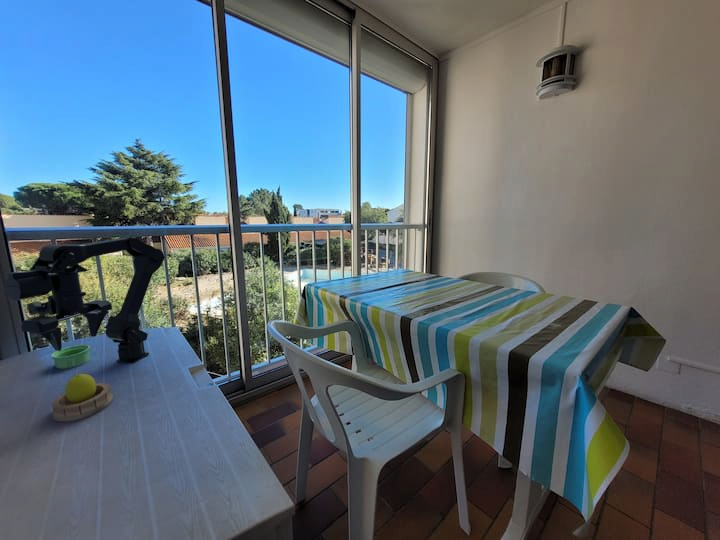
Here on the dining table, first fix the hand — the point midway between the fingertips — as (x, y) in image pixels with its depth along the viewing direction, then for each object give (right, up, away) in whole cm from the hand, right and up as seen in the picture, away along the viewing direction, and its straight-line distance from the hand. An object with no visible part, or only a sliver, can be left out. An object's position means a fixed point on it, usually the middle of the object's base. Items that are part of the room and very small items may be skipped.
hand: (77, 343), depth 81 cm
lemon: (+11, -13, -9) cm, 19 cm away
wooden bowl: (+11, -14, -9) cm, 20 cm away
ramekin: (-14, -10, +13) cm, 21 cm away
